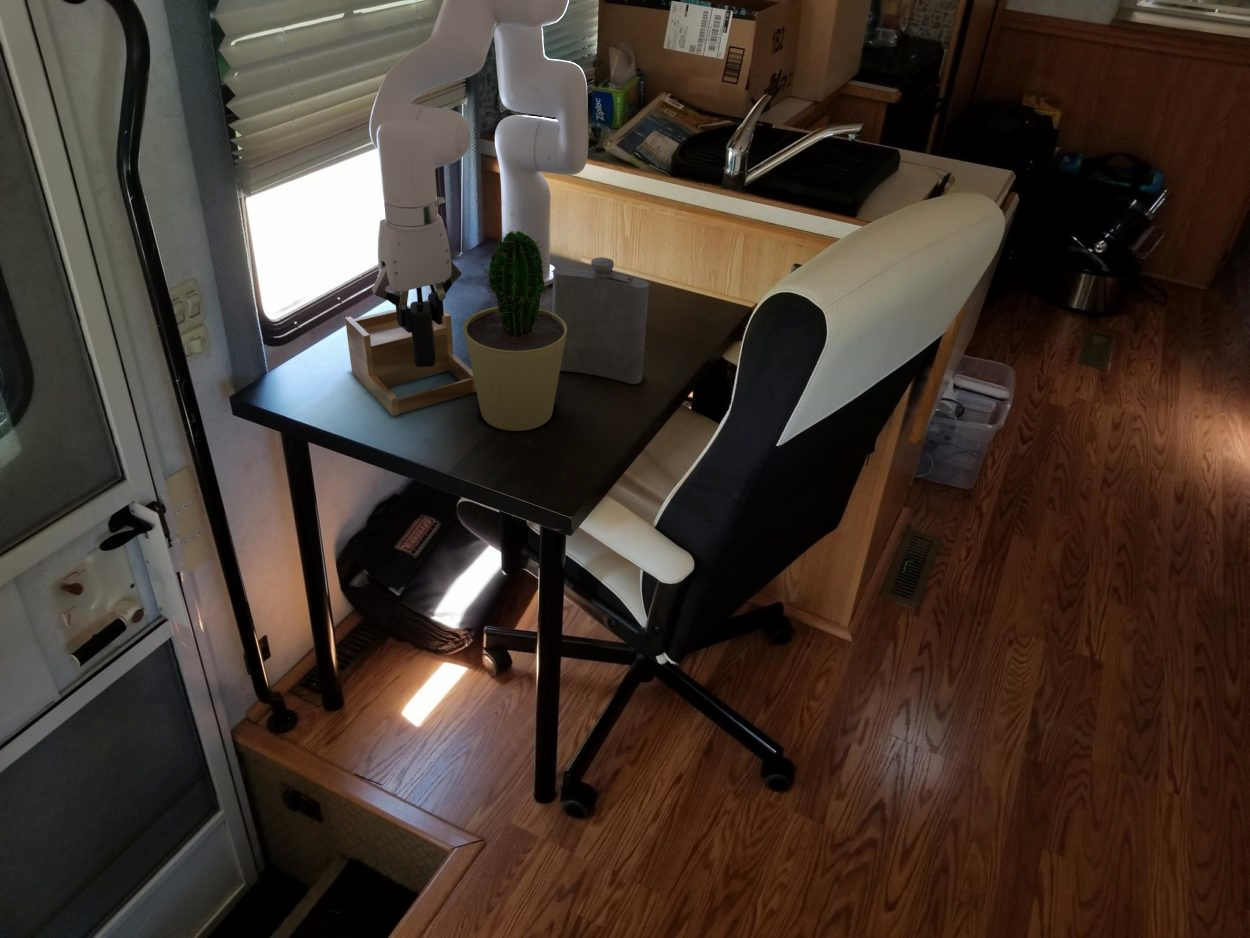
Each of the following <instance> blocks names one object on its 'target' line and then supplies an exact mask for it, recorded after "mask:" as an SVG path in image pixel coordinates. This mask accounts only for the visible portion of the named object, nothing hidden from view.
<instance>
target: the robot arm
mask: <svg viewBox="0 0 1250 938" xmlns="http://www.w3.org/2000/svg"><path fill="white" fill-rule="evenodd" d="M569 1H570V0H442V3H441V6H440V9H439V12H438V15H437V17H436V20H435V23H434V25H433V29H432V31H431V34H430V37H429V38H428V39H427V40H425V41H424V42H422V43H421V44H419V45H417V46H416V47H414V48H413V49H412V50H411V51H409V52H408V53H407V54H405V55H404V56H402V58H400V59H399V60H398V61H397V62H396V63H395V64H393V66H392V67H391V68H390V69H389V70H388V71H387V73H386V74H385V76H384V77H383V79H382V82H381V84H380V86H379V89H378V91H377V94H376V97H375V100H374V103H373V105H372V109H371V113H370V117H369V125H368V126H369V130H368V131H369V136H370V140H371V142H372V145H373V146H374V147H375V149H376V150H377V154H378V163H379V173H380V182H381V189H382V190H381V191H382V201H383V210H384V218H383V219H380V220H379V225H378V234H377V265H378V266H377V267H378V276H377V278H376V280H375V282H374V284H373V285H372V287H371V293H373V294H374V295H375V296H376V297H378V298H381V299H383V300H386V301H388V302H389V303H391V304H392V305H394V306H395V309H396V314H397V322H398V324H399V326H401V327H402V328H403V329H405V330H406V331H407V332H408V333H410V332H412V331H413V328H412V317H411V310H410V308H409V307H408V306H409V305H408V301H409V293H410V291H411V290H415V289H416V288H420V287H422V288H423V287H429V291H430V293H428V296H427V299H428V302H430V303H431V310H432V320H433V321H434V322H435V323H437V324H439V325H440V324H442V323H443V322H442V316H444V310H445V309H444V300H445V299H446V298H447V297H446V296H447V293H448V292H449V290H450V289H451V288H452V286H453V283H455V282H456V281H458V279H459V278H460V277H461V276H462V271H461V270H460V269H459V268H458V266H457V265H456V264H455V263H454V262H453V261H452V259H451V258H452V257H451V251H450V250H451V249H450V244H449V239H448V235H447V230H446V226H445V223H444V220H443V217H442V216H441V215H440V209H442V207H445V206H446V205H447V203H446V199H445V198H444V197H443V196H441V197H439V196H438V195H437V193H438V192H437V180H436V179H437V178H436V169H438V168H441V167H445V166H448V165H452V164H454V163H457V162H459V160H461V159H462V158H463V157H464V156H465V154H466V153H467V152H468V149H469V148H470V144H471V137H472V136H471V135H472V133H471V126H470V124H469V122H468V120H467V119H466V118H465V116H464V115H462V114H461V113H460V112H458V111H456V110H453V109H449V108H443V107H435V106H429V105H423V104H414V103H413V102H414V101H415V100H416V99H417V98H418V97H419V96H421V95H423V94H425V93H426V92H428V91H430V90H432V89H435V88H438V87H441V86H445V85H448V84H452V83H455V82H459V81H461V80H465V79H467V78H469V77H472V76H474V75H476V74H478V73H479V72H480V71H481V70H483V67H484V65H485V63H486V60H487V56H488V54H489V49H490V47H491V44H492V41H494V49H495V51H494V52H495V64H496V73H497V75H496V76H497V86H498V92H499V98H500V102H501V103H502V105H503V106H504V107H505V108H507V109H508V110H509V111H513V112H517V113H520V114H513V115H508V116H506V117H503V119H501V120H500V121H499V122H498V124H497V126H496V128H495V131H494V132H495V133H494V147H495V152H496V157H497V163H498V167H499V177H500V195H501V197H500V198H501V200H500V201H501V238H502V237H505V235H506V234H508V233H510V232H512V231H513V232H514V234H515V232H516V233H517V231H519V232H520V233H521V231H522V232H523V234H524V235H527V236H529V237H530V238H531V236H532V238H531V239H532V240H534V242H538V241H539V242H538V244H539V245H538V244H536V245H537V247H538V249H539V250H540V251H539V252H540V253H541V255H542V256H544V257H542V256H541V260H542V266H547V267H542V270H543V280H544V283H545V282H546V283H552V284H553V270H554V269H555V268H556V267H555V266H554V265H552V264H551V201H552V200H551V199H552V198H551V189H550V187H549V184H548V181H547V179H546V178H545V175H544V174H543V173H550V174H556V175H563V176H575V175H578V174H580V173H581V172H582V171H583V170H584V169H585V167H586V165H587V162H588V155H589V106H588V84H587V78H586V74H585V73H584V71H583V68H582V67H581V66H580V65H578V64H576V63H575V62H572V61H569V60H562V59H554V58H549V57H547V56H546V53H545V46H544V30H543V27H546V26H550V25H552V24H556V23H557V22H559V21H560V20H561V19H562V18H563V16H564V15H565V13H566V11H567V8H568V5H569ZM521 113H522V114H521ZM533 115H537V116H533ZM540 116H544V117H540ZM547 117H551V118H547ZM553 118H555V119H553ZM523 227H524V228H523ZM507 229H508V230H507ZM509 229H510V230H509ZM522 229H523V230H522ZM503 230H504V231H503ZM508 231H509V232H508ZM502 232H503V233H502ZM504 233H505V234H504ZM525 233H526V234H525ZM527 233H528V234H527ZM530 233H531V234H530ZM502 234H503V236H502ZM503 239H504V238H503ZM501 240H502V239H501ZM501 242H503V240H502V241H501ZM541 242H542V243H541ZM543 245H544V246H543ZM541 246H542V247H541ZM539 247H540V248H539ZM545 249H546V250H545ZM542 251H543V252H542ZM543 258H547V259H543ZM544 262H546V263H544ZM544 272H545V273H544ZM546 278H547V279H546ZM388 284H389V286H390V289H391V290H389V289H387V286H388ZM549 285H550V284H544V287H545V286H549ZM443 309H444V310H443Z"/></svg>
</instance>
